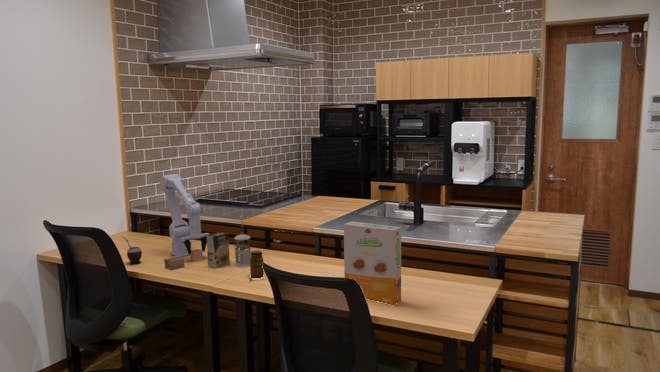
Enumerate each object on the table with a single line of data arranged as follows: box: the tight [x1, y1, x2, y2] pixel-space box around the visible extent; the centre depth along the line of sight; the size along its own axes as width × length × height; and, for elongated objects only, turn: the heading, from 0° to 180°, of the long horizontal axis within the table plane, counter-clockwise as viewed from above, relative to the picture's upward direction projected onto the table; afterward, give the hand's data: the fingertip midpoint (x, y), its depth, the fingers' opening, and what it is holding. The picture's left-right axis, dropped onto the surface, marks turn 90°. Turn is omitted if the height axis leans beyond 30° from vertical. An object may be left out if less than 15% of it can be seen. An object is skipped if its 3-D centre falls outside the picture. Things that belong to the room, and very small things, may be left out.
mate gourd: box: [121, 235, 143, 266], centre depth 263 cm, size 8×8×15 cm
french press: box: [233, 215, 252, 268], centre depth 258 cm, size 10×12×25 cm
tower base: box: [164, 263, 185, 271], centre depth 256 cm, size 7×7×2 cm
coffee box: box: [206, 231, 231, 269], centre depth 257 cm, size 9×6×16 cm
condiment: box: [248, 250, 265, 281], centre depth 236 cm, size 7×8×12 cm
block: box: [190, 248, 204, 262], centre depth 268 cm, size 4×4×5 cm
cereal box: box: [343, 221, 402, 306], centre depth 206 cm, size 22×6×30 cm, turn 56°
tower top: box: [163, 255, 185, 266], centre depth 255 cm, size 7×7×2 cm
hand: (196, 252), depth 268 cm, fingers open, 7 cm apart
